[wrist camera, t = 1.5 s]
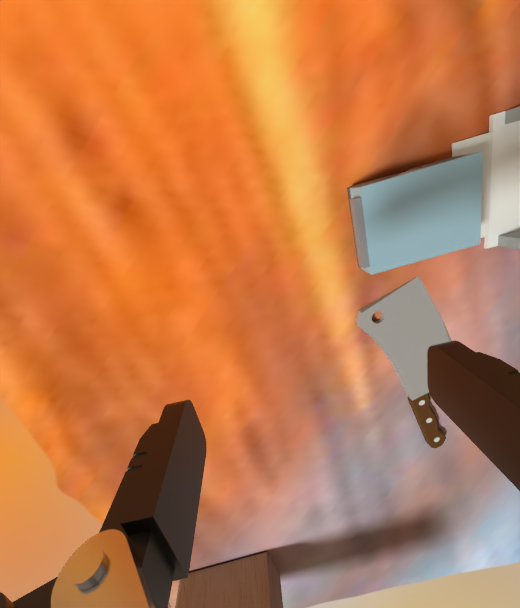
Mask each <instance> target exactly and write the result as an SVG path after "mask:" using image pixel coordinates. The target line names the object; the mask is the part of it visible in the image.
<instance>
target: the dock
mask: <svg viewBox="0 0 520 608" xmlns="http://www.w3.org/2000/svg"><path fill="white" fill-rule="evenodd" d="M481 151H483V178H482V209H481V238H483V237H485V242H484V248H491V247H495V246H502V247H507V248H513V249H520V106H519V107H516V108H513V109H510V110H507V111H503V112H500V113H497V114H493V115H490V116H489V133H486V134H482V135H479V136H475V137H472V138H469V139H465V140H462V141H459V142H455V143H452V157H455V156H460V155H465V154H470V153H476V152H481Z"/></svg>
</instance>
